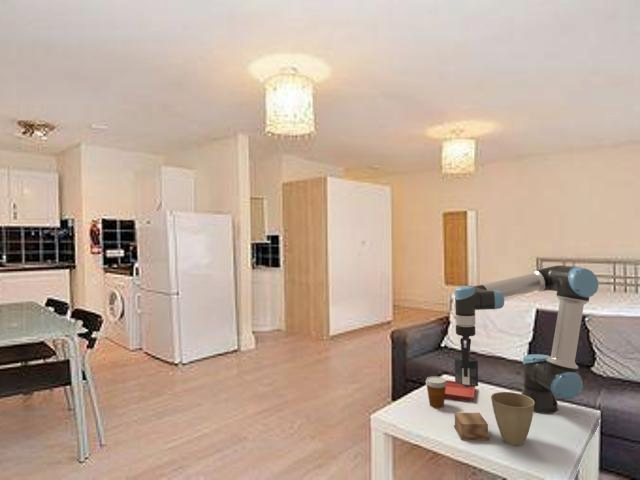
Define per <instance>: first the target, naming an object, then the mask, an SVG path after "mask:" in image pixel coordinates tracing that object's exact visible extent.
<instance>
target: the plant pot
mask: <svg viewBox="0 0 640 480" xmlns="http://www.w3.org/2000/svg"><path fill="white" fill-rule="evenodd" d="M490 399H491V403H492V405H491V406H492V410H493V414H494V417H495V420H496V424H497V428H498V429H499V433H500V436H501V438H502V441H503V442H504V443H506V444H508V445H512V446H523V445H524V444H525V442H526V439H528V435H529V432H530V428H531V424H532V421H533V418H534V417H533V416H534V412H533V411H534V403H535V402H534V400H533V399H531V398H530V397H528V396H525V395H522V393H517V392H511V391H499V392H495V393H493V394H491V398H490Z"/></svg>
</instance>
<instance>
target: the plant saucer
mask: <svg viewBox="0 0 640 480" xmlns="http://www.w3.org/2000/svg"><path fill="white" fill-rule="evenodd" d="M445 380H446V379H445ZM446 382H447V384H446V389H445V399H451V400H459V401H464V402H471V401H472V400H473V399H474V397H475V390H476V386H475V387H465V386H463V385H461V384H460V383H458V382H456V381H455V380H448V379H447V380H446Z"/></svg>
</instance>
